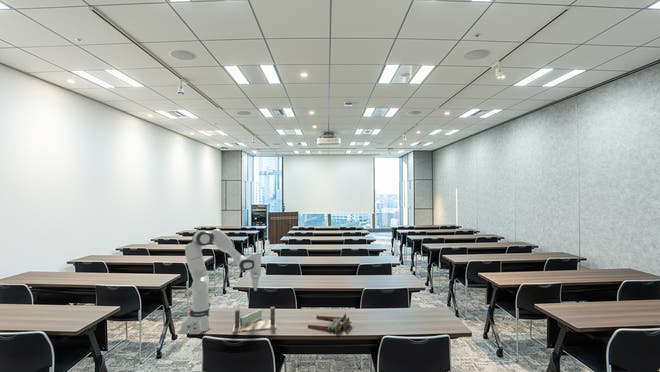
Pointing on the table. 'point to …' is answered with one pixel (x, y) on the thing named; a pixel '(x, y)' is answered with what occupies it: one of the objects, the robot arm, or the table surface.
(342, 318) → the miniature gate
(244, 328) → the base
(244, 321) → the gate panel
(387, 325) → the table surface
